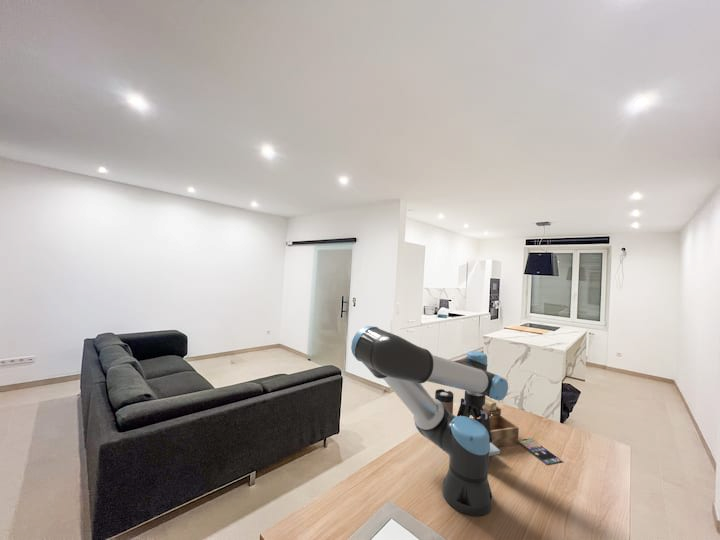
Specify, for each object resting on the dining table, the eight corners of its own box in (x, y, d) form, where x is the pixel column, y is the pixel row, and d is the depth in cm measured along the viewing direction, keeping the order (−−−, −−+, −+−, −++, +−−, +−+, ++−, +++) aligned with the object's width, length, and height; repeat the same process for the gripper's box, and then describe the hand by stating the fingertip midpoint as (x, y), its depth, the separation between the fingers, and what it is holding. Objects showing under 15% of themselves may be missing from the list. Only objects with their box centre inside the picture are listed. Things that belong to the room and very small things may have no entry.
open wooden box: (486, 449, 122) (487, 426, 122) (463, 429, 137) (464, 408, 136) (519, 443, 127) (520, 421, 127) (493, 424, 142) (494, 404, 141)
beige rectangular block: (490, 411, 137) (491, 403, 137) (474, 400, 148) (475, 393, 148) (496, 410, 138) (496, 403, 138) (479, 399, 149) (480, 392, 149)
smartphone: (546, 466, 114) (546, 463, 114) (516, 443, 129) (516, 440, 129) (562, 463, 116) (563, 460, 116) (531, 440, 131) (531, 437, 131)
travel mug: (438, 445, 123) (441, 397, 123) (429, 435, 131) (431, 389, 130) (455, 443, 126) (457, 396, 125) (445, 433, 133) (447, 388, 132)
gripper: (505, 405, 107) (501, 466, 107) (464, 380, 129) (461, 430, 129) (487, 407, 104) (484, 469, 105) (449, 381, 127) (446, 432, 127)
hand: (472, 448), depth 117 cm, fingers closed on lid, 11 cm apart
